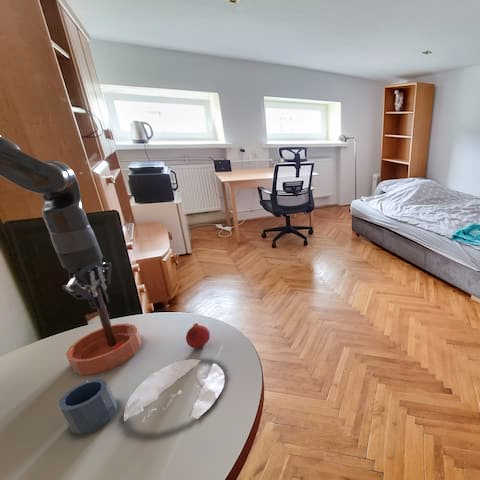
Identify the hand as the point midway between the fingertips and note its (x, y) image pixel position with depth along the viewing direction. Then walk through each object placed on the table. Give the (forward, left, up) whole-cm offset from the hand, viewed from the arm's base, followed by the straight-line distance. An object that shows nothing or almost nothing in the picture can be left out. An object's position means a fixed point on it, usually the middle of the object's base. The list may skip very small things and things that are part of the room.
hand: (100, 305), depth 76 cm
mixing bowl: (-1, -2, -15) cm, 15 cm away
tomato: (+3, -2, -13) cm, 13 cm away
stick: (-1, 0, -13) cm, 13 cm away
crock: (+9, -22, -15) cm, 28 cm away
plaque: (+24, -18, -15) cm, 34 cm away
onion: (+23, -2, -15) cm, 28 cm away
